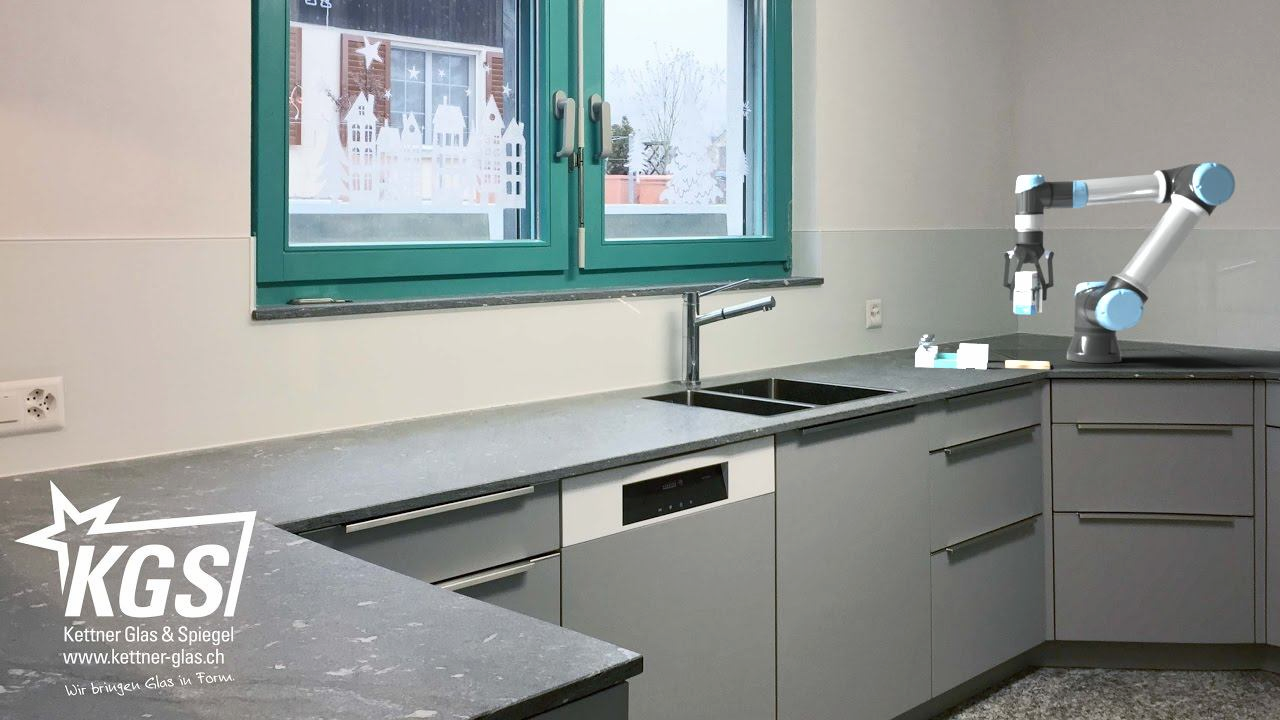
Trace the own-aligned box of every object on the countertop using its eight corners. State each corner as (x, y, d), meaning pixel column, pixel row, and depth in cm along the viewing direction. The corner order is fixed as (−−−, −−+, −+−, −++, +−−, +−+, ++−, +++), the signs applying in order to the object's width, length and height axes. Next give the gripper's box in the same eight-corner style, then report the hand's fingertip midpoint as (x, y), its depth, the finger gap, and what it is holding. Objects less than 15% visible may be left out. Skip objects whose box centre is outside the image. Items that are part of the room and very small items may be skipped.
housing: (987, 361, 357) (988, 344, 356) (986, 369, 339) (986, 351, 338) (920, 359, 362) (920, 342, 362) (915, 366, 344) (915, 349, 344)
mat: (1048, 365, 347) (1049, 361, 347) (1049, 369, 338) (1050, 365, 338) (1005, 363, 351) (1005, 360, 351) (1005, 367, 341) (1005, 364, 341)
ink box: (1031, 314, 338) (1032, 272, 337) (1013, 314, 341) (1014, 272, 339) (1041, 312, 345) (1042, 271, 343) (1024, 311, 348) (1024, 270, 346)
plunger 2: (932, 361, 349) (932, 337, 348) (931, 363, 346) (932, 338, 345) (919, 361, 350) (920, 337, 349) (918, 362, 347) (919, 338, 346)
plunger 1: (934, 357, 358) (935, 334, 358) (933, 358, 355) (934, 335, 354) (921, 357, 359) (922, 333, 359) (921, 358, 356) (921, 334, 355)
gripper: (1064, 229, 341) (1062, 311, 344) (994, 230, 346) (992, 310, 349) (1065, 230, 334) (1063, 313, 336) (993, 231, 339) (992, 313, 342)
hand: (1027, 312), depth 343 cm, fingers closed on ink box, 6 cm apart
